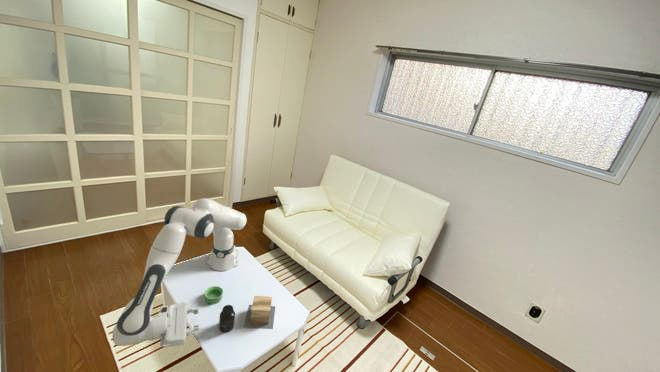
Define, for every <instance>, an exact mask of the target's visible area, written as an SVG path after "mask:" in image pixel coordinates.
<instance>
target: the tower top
mask: <svg viewBox="0 0 660 372" xmlns="http://www.w3.org/2000/svg"><path fill="white" fill-rule="evenodd" d="M272 301H273V296H267V295H266V296H264V295H254V296H253V301H252V304H251V305H252V309H251V317H265V318H269V315H270V308H271V306H272Z"/></svg>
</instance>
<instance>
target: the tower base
mask: <svg viewBox="0 0 660 372" xmlns="http://www.w3.org/2000/svg"><path fill="white" fill-rule="evenodd" d="M268 322H269V318H265V317H251V318H250V323H253V324H268Z"/></svg>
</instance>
